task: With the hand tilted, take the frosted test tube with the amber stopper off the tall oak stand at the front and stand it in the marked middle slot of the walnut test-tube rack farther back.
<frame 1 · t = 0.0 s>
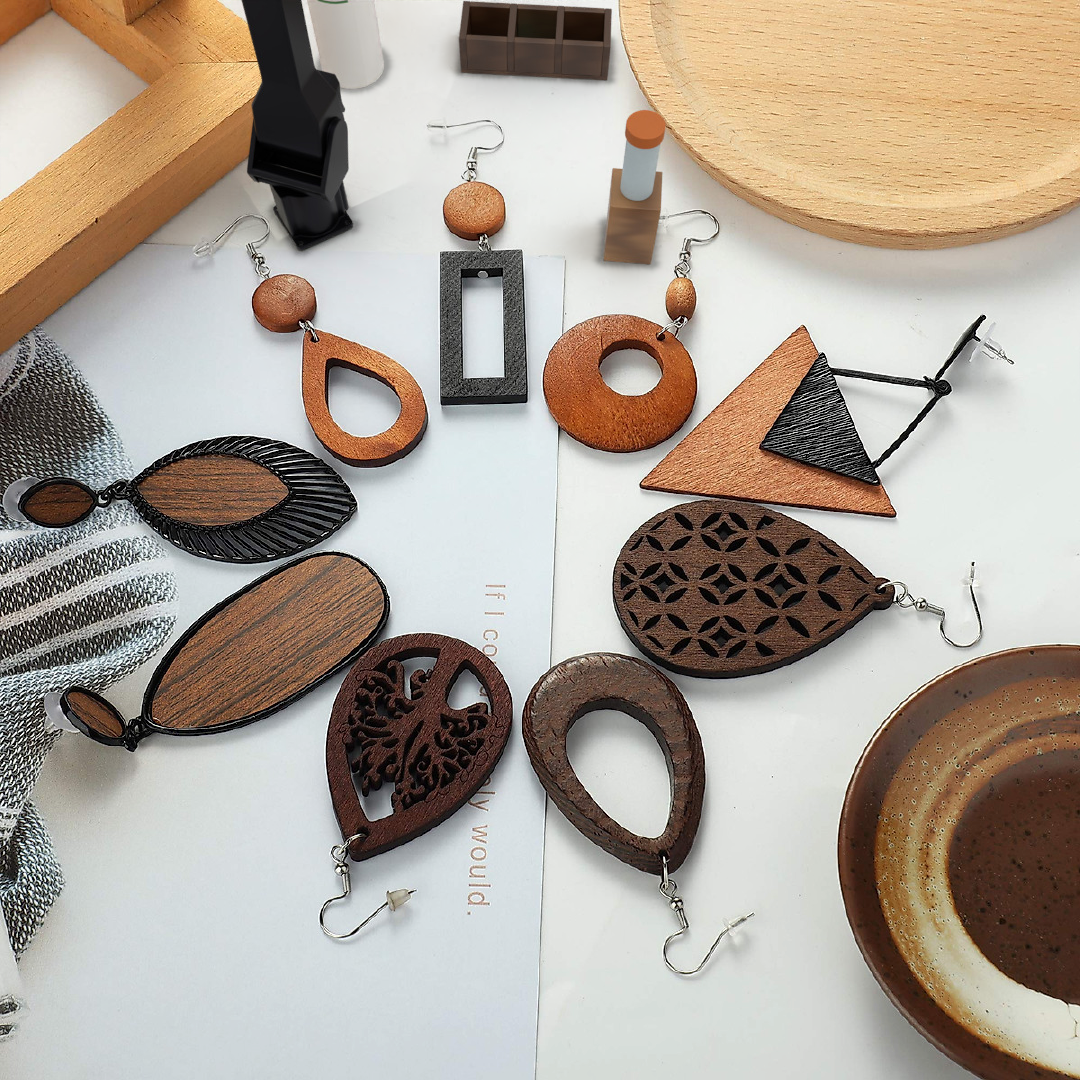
test tube: (636, 188, 96), point 8 cm above the table, touching tube stand
tube stand: (628, 244, 103), on the table
tube rack: (535, 57, 114), on the table
cylindrical container: (353, 67, 113), on the table
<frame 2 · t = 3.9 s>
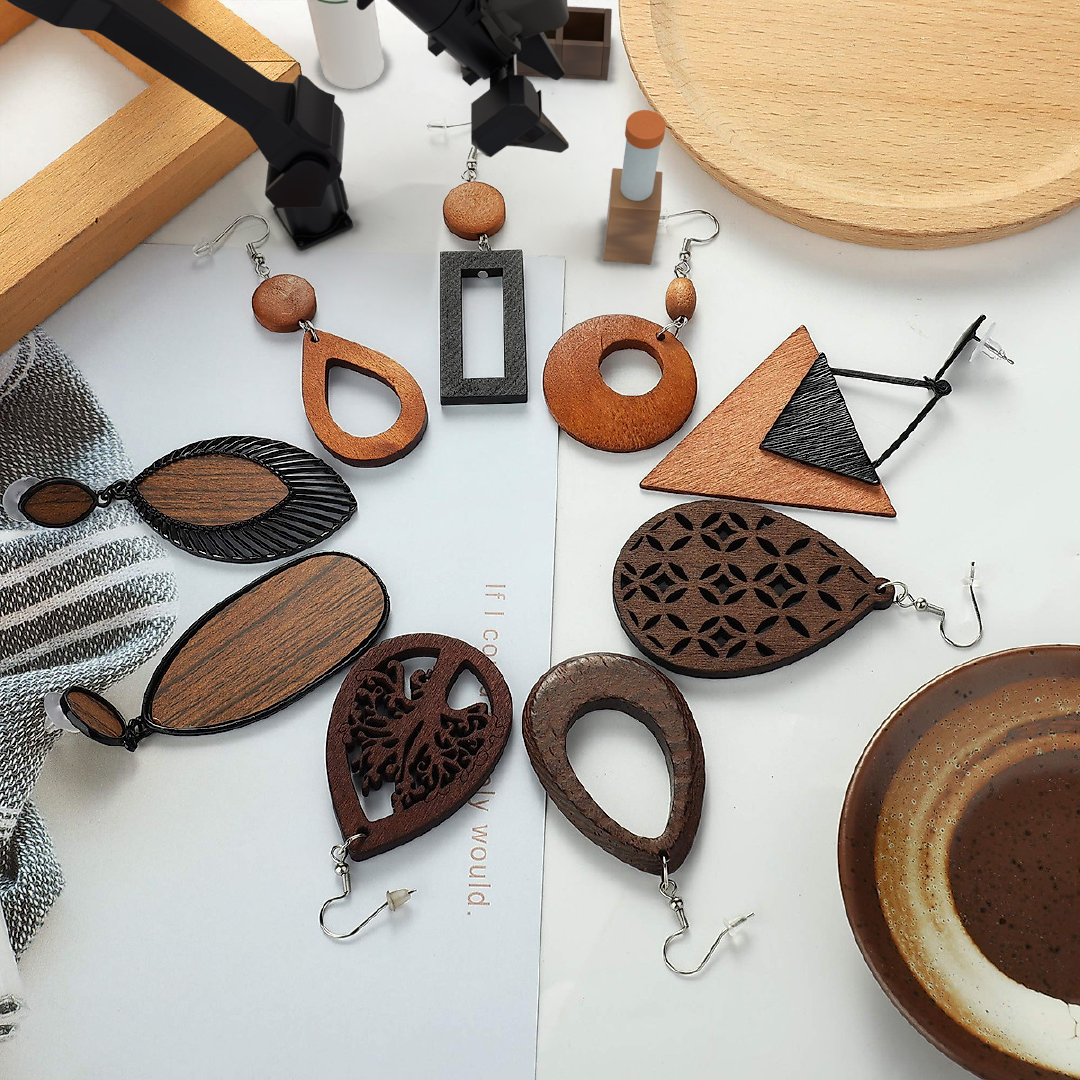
hand: (563, 111, 92), 14 cm above the table, tool tilted 40°, fingers open, 9 cm apart
nothing on the table moved.
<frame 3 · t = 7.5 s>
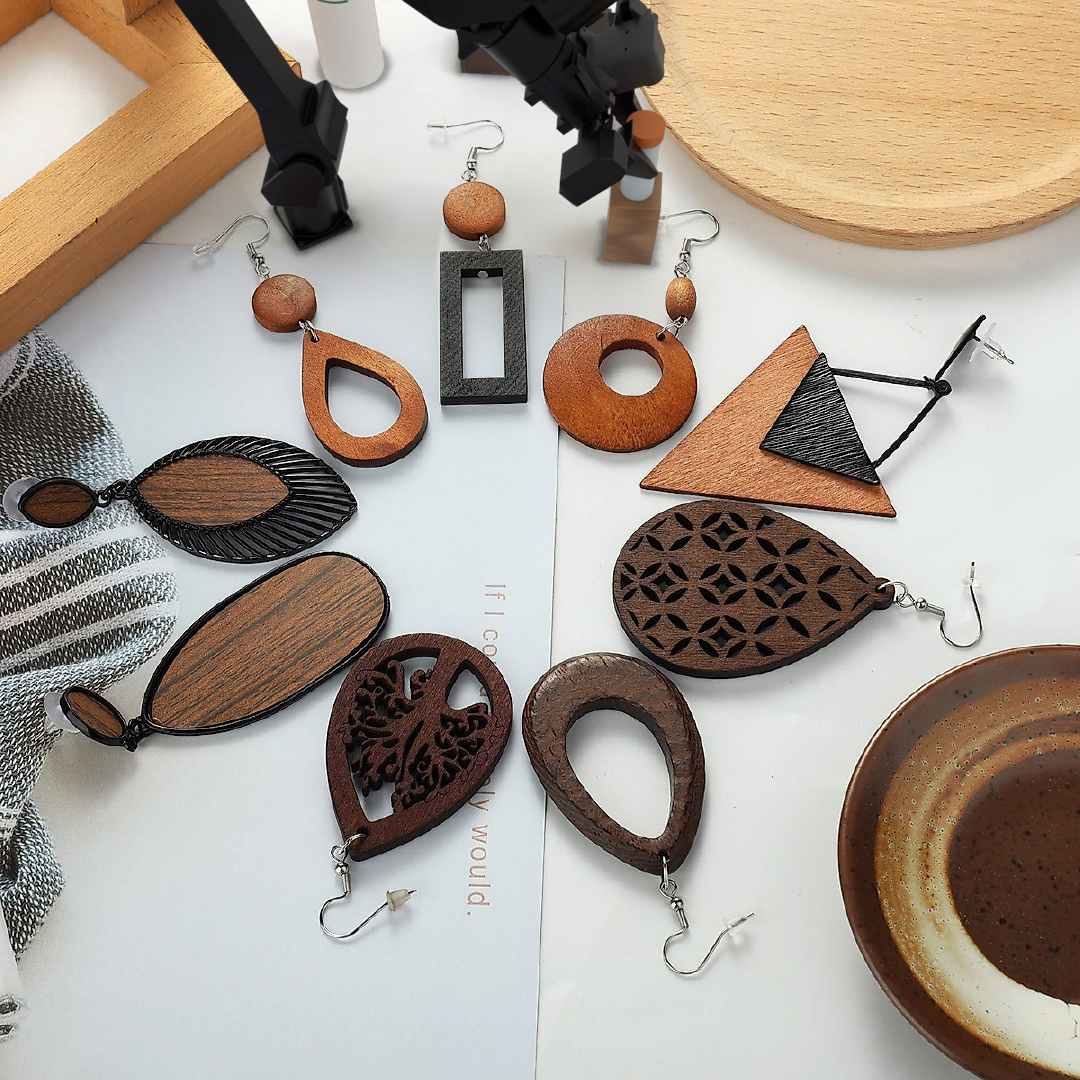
hand: (655, 162, 92), 12 cm above the table, tool tilted 45°, fingers closed on test tube, 3 cm apart
test tube: (636, 188, 96), point 8 cm above the table, touching gripper, tube stand
everything else where it was.
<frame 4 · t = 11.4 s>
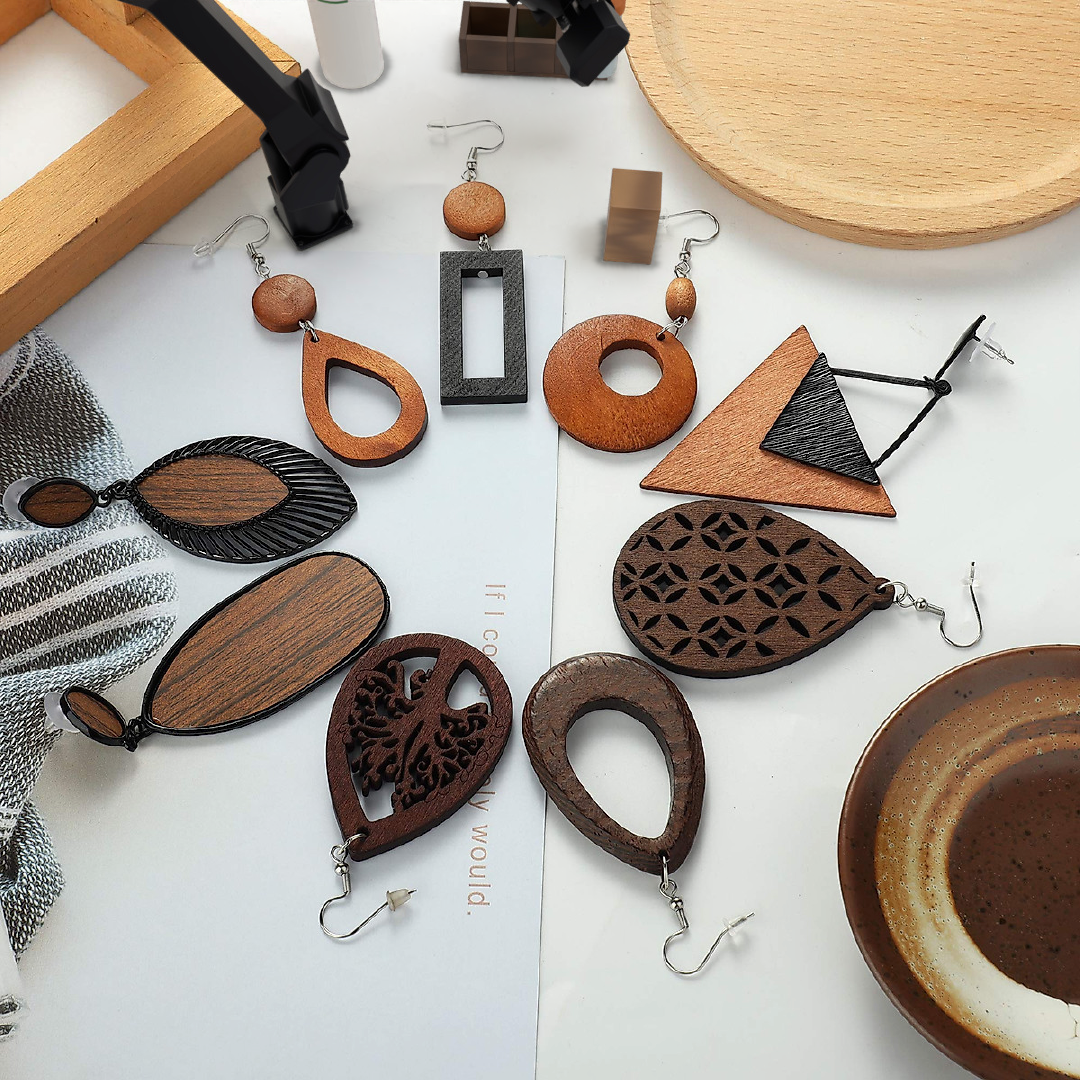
hand: (616, 33, 96), 14 cm above the table, tool tilted 45°, fingers closed on test tube, 3 cm apart
test tube: (601, 67, 100), point 10 cm above the table, touching gripper
everything else where it was.
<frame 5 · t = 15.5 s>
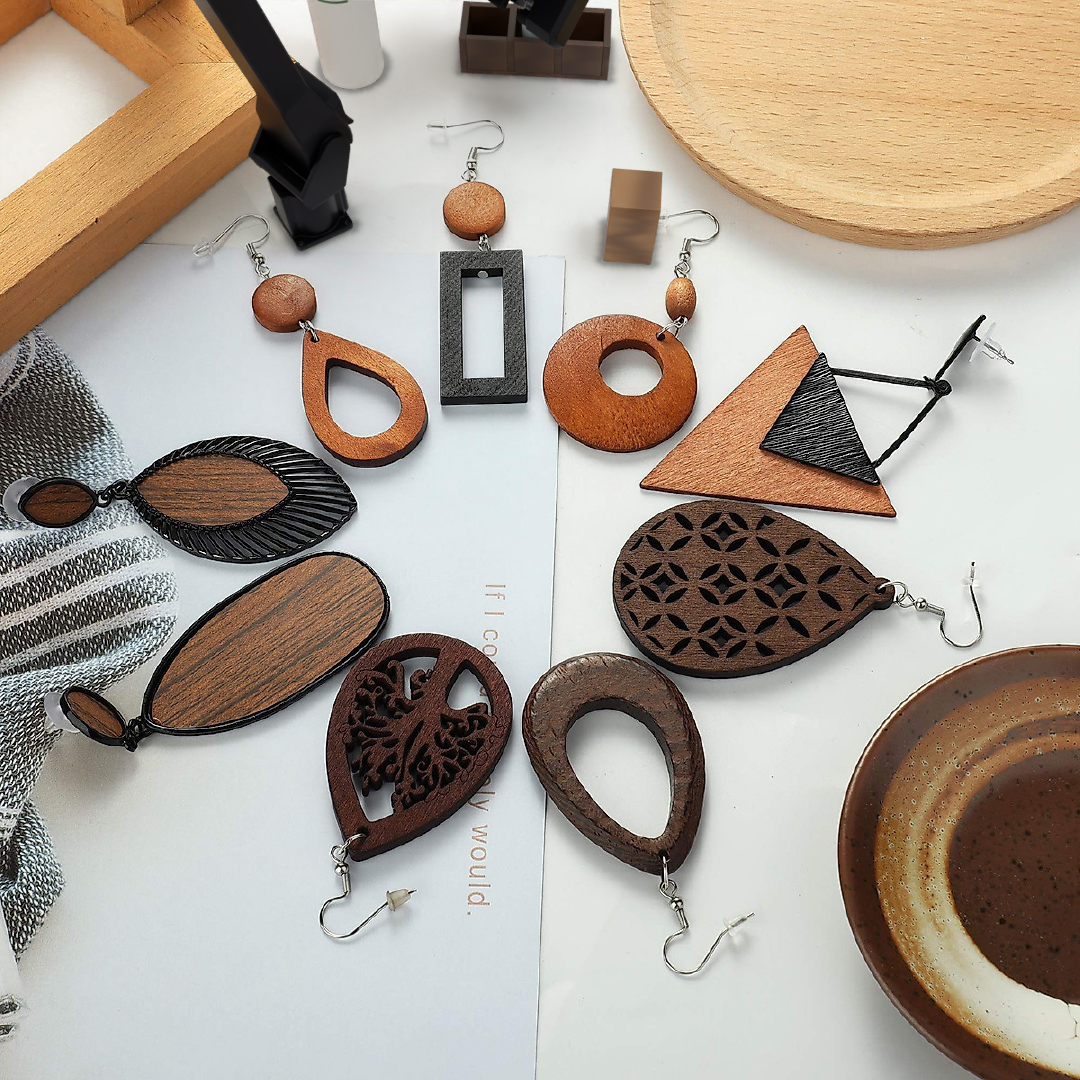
hand: (544, 0, 108), 7 cm above the table, tool tilted 45°, fingers closed on test tube, 3 cm apart
test tube: (536, 34, 111), point 3 cm above the table, touching gripper
everything else where it was.
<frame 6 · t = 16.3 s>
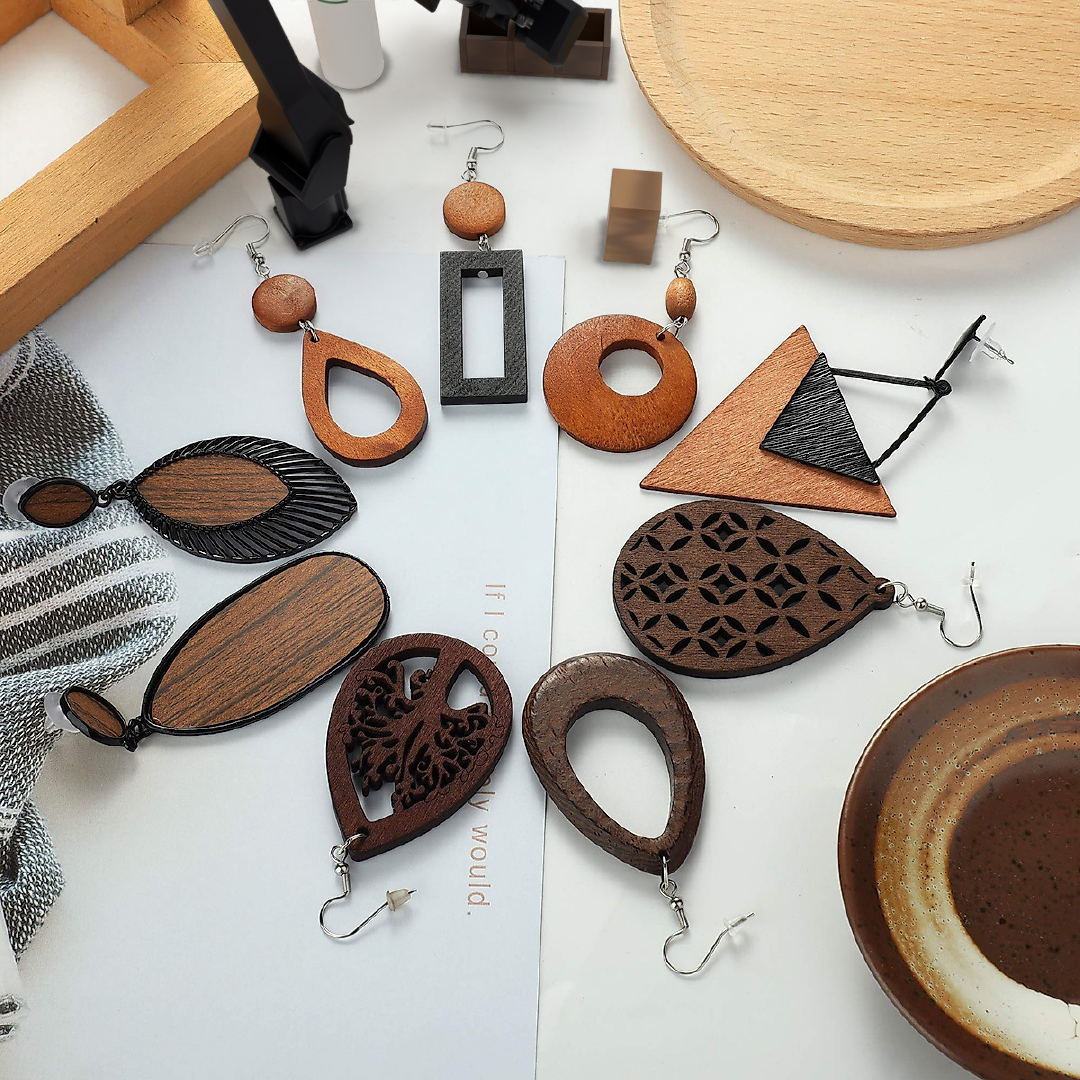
hand: (544, 17, 110), 5 cm above the table, tool tilted 45°, fingers closed on test tube, 3 cm apart
test tube: (536, 50, 113), point 1 cm above the table, touching gripper
everything else where it was.
when the fingers open (6 cm above the table, at t = 23.3 s): test tube drops 2 cm, resting on tube rack.
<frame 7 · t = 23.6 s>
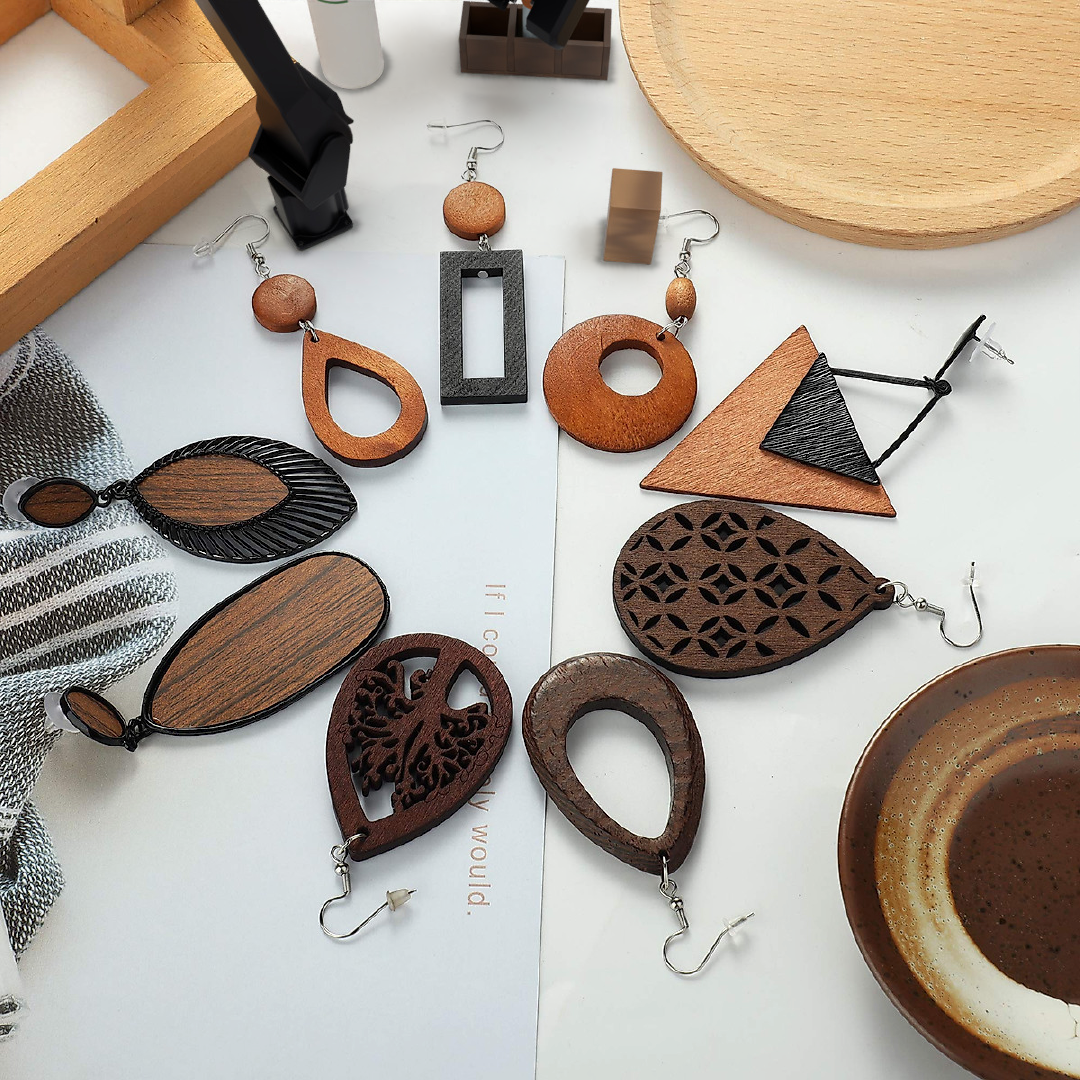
hand: (545, 0, 108), 7 cm above the table, tool tilted 45°, fingers open, 6 cm apart
test tube: (536, 52, 113), point 1 cm above the table, touching tube rack
everything else where it was.
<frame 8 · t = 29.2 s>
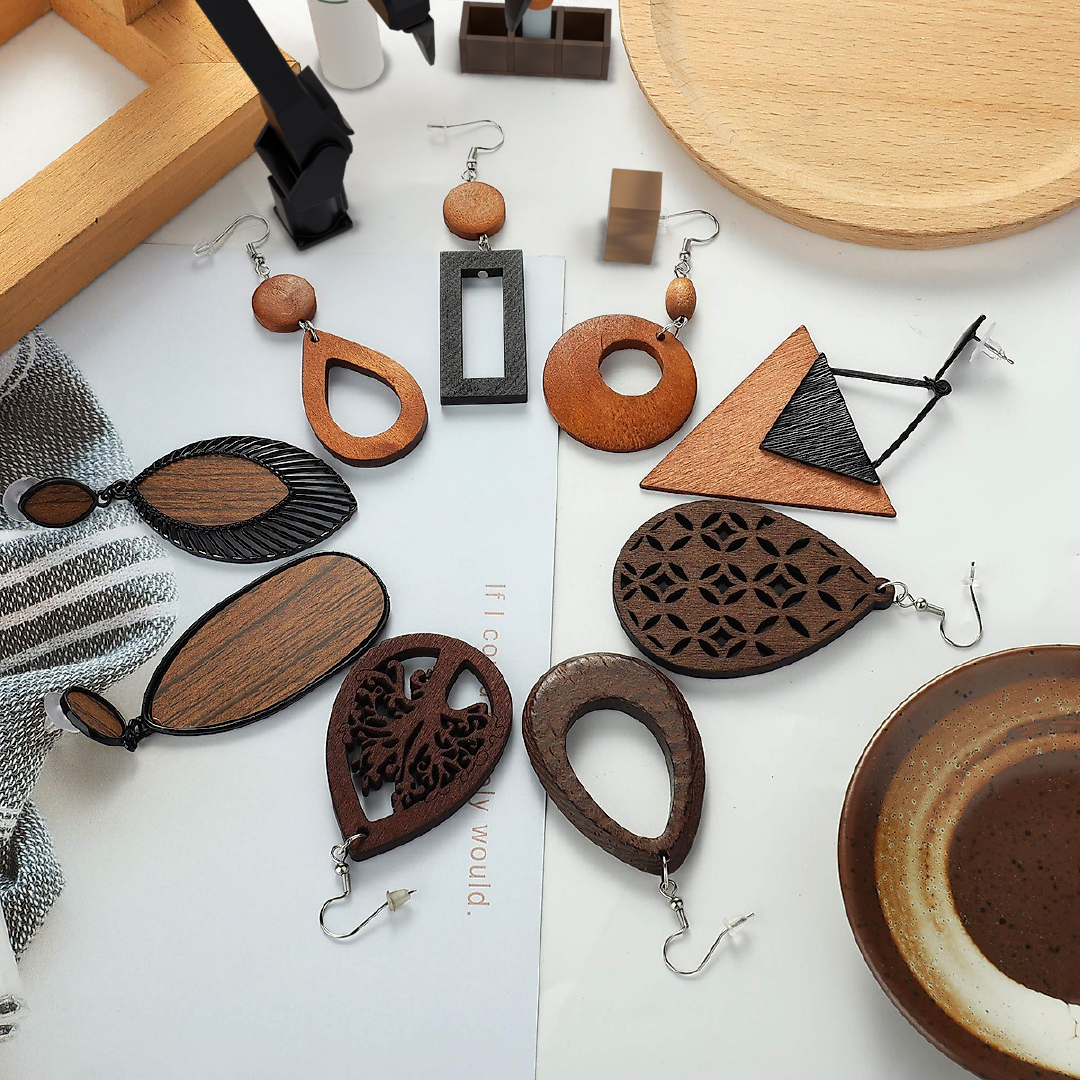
hand: (470, 45, 96), 13 cm above the table, tool pointing down, fingers open, 9 cm apart
nothing on the table moved.
at the end: test tube 0.1 cm off-centre in the tube rack, point 0.7 cm above the tube rack's base; test tube tilted 0°; the gripper is holding nothing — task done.
